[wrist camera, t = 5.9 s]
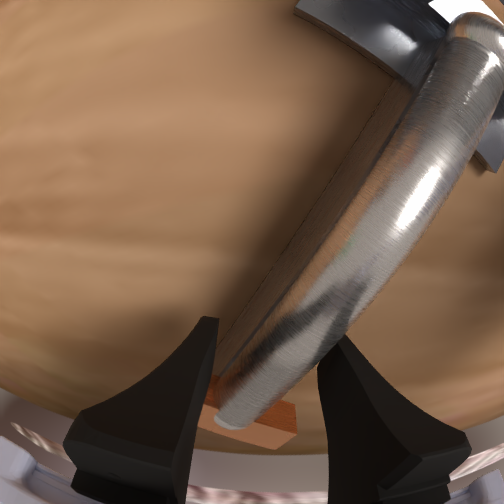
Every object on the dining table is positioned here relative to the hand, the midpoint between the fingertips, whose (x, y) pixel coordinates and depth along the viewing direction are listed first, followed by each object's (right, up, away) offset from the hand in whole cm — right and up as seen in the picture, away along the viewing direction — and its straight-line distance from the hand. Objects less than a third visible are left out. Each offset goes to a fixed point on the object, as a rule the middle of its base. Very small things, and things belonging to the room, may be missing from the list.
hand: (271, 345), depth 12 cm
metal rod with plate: (+3, +4, -2) cm, 5 cm away
